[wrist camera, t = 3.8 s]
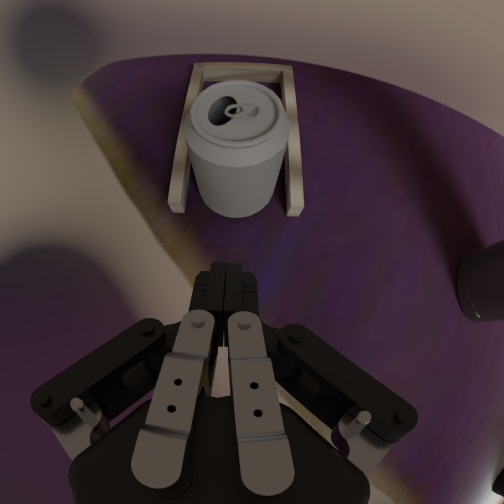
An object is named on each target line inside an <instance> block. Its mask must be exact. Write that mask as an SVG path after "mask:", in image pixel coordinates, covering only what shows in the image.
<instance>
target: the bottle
mask: <svg viewBox="0 0 504 504" xmlns="http://www.w3.org/2000/svg"><path fill="white" fill-rule="evenodd" d="M493 492H495V493H497V494H499V495H501V496H503V497H504V469H503V470H502V472H501V473H500V475H499V476H498V478H497V479H496V481H495V483H494V485H493Z"/></svg>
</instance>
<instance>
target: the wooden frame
mask: <svg viewBox="0 0 504 504" xmlns="http://www.w3.org/2000/svg"><path fill="white" fill-rule="evenodd" d="M230 80H245V81H252V82H266V83H279V84H281V97H282V105H283V107H284V110H285V111H286V113H287V116H288V118H289V121H290V136H289V139H288V143H287V146H286V150H285V181H286V216H297V217H298V216H299V215H300V213H301V211H302V210H303V208H304V199H303V181H302V166H301V152H300V139H299V128H298V117H297V107H296V97H295V88H294V79H293V71H292V66H288V65H277V64H264V63H244V62H205V63H195V64H194V68H193V72H192V76H191V80H190V84H189V88H188V92H187V97H186V101H185V105H184V110H183V115H182V120H181V125H180V130H179V135H178V140H177V146H176V151H175V157H174V163H173V169H172V175H171V182H170V189H169V196H168V205H169V206H170V208H171V210H172V212H173V213H185V207H186V198H187V189H188V181H189V173H190V165H191V160H190V156H189V152H188V148H187V145H186V141H185V136H184V122H185V119H186V116H187V113H188V112H189V110H190V109H191V106H192V103H193V101H194V100H195V98H196V97H197V96H198V95H199V94H200V92H202V90H203V85H204V81H230Z"/></svg>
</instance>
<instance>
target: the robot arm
mask: <svg viewBox="0 0 504 504" xmlns="http://www.w3.org/2000/svg"><path fill="white" fill-rule="evenodd" d="M457 293H458V299H459V302H460V305H461V308H462V310H463V312H464V313H465V315H466V316H467V317H468V318H469V319H470V320H471V321H474V322H486V321H501V320H504V240H502V241H500V242H497V243H494V244H492V245H489V246H486V247H484V248H481V249H478V250H475V251H473V252H470V253H468V254H467V255H466V256H465V257H464V258H463V260H462V262H461V264H460V267H459V270H458V275H457ZM223 338H224V346H225V347H228V367H229V382H230V396H225V397H219V398H215V397H211V393H212V386H213V380H214V373H215V368H216V361H217V354H218V347H220V346H221V347H222V346H223ZM275 381H276V382H277V383H278V384H279V385H281V386H282V387H283V388H284V389H285V390H286V391H287V392H288V393H289V394H291V395H292V396H293V397H294V398H295V399H296V400H297V401H298V402H300V403H301V404H302V405H303V406H304V407H305V408H306V409H308V410H309V411H310V412H311V413H312V414H313V415H315V416H316V417H317V418H318V419H319V420H321V421H322V422H323V423H324V424H325V425H327V426H328V427H329V428H330V429H331V430H332V432H331V441H332V443H333V444H334V446H335V447H336V448H337V449H338V450H337V449H336V448H335V447H333V446H332V445H331V444H330V443H329V442H328V441H327V440H326V439H324V438H323V437H322V436H321V435H320V434H319V433H318V432H317V431H316V430H314V429H313V428H312V427H311V426H310V425H309V424H308V423H307V422H306V421H305V420H304V419H303V418H302V417H301V416H300V415H298V414H297V413H296V412H295V411H294V410H293V409H291V408H290V407H288V406H286V405H284V404H282V403H280V402H279V400H278V394H277V389H276V384H275ZM153 388H155V391H154V394H153V397H152V399H149V400H147V401H146V402H144V403H142V404H141V405H140V406H138V407H137V408H136V409H135V410H134V411H132V412H131V413H130V414H129V415H127V416H126V417H125V418H124V419H123V420H121V421H120V422H119V423H118V424H116V425H115V426H114V427H113V428H111V429H110V421H111V420H113V419H114V418H115V417H117V416H118V415H119V414H121V413H122V412H123V411H125V410H126V409H127V408H129V407H130V406H131V405H133V404H134V403H135V402H137V401H138V400H139V399H141V398H142V397H143V396H144V395H146V394H147V393H148V392H150V391H151V390H152V389H153ZM30 402H31V407H32V409H33V411H34V412H35V413H36V414H37V415H38V416H39V417H40V418H42V419H43V421H44V422H45V423H46V424H47V425H48V426H49V427H50V428H51V429H52V430H53V432H54V433H55V435H56V437H57V438H58V440H59V442H60V443H61V445H62V446H63V448H64V449H65V451H66V452H67V454H68V455H69V457H70V458H71V459H72V463H71V465H70V468H69V474H68V475H69V476H68V477H69V484H70V488H71V491H72V494H73V497H74V500H75V504H368V502H369V498H370V485H369V481H368V479H367V476H368V475H369V474H370V472H371V471H372V470H373V469H374V468H375V467H376V465H377V464H378V463H379V462H380V461H381V459H382V458H383V457H384V456H385V454H386V453H387V452H388V450H389V449H390V448H391V447H392V446H393V445H394V444H395V443H397V442H398V441H399V440H400V439H402V438H403V437H404V436H405V435H406V434H408V433H409V432H410V431H411V430H412V429H413V428H414V427H415V426H416V424H417V421H418V415H417V412H416V410H415V408H414V407H413V406H412V405H411V404H409V403H408V402H407V401H405V400H404V399H402V398H401V397H399V396H398V395H397V394H395V393H394V392H392V391H391V390H390V389H388V388H387V387H385V386H384V385H383V384H381V383H380V382H379V381H377V380H376V379H374V378H373V377H372V376H370V375H369V374H368V373H366V372H365V371H363V370H362V369H361V368H359V367H358V366H357V365H355V364H354V363H353V362H351V361H350V360H349V359H347V358H346V357H344V356H343V355H342V354H340V353H339V352H338V351H336V350H335V349H334V348H332V347H331V346H330V345H328V344H327V343H326V342H324V341H323V340H322V339H320V338H319V337H318V336H317V335H315V334H314V333H313V332H311V331H310V330H309V329H307V328H306V327H304V326H302V325H299V324H289V325H286V326H284V327H283V328H282V329H281V330H280V329H277V328H273V327H270V326H268V325H266V324H265V323H263V322H262V320H261V319H260V317H259V309H258V294H257V279H256V278H255V276H254V275H253V273H249V272H242V262H227V273H226V262H212V264H211V270H210V271H201V272H200V273H199V274H198V275H197V276H196V278H195V283H194V287H193V292H192V297H191V302H190V306H189V311H188V313H186V314H185V315H184V317H183V318H182V321H180V322H178V323H175V324H170V325H165V326H163V324H162V323H161V322H160V321H159V320H157V319H154V318H146V319H142V320H140V321H138V322H137V323H135V324H134V325H132V326H131V327H129V328H128V329H126V330H125V331H123V332H122V333H120V334H119V335H117V336H115V337H114V338H112V339H111V340H109V341H108V342H106V343H105V344H103V345H102V346H100V347H99V348H97V349H96V350H94V351H93V352H91V353H90V354H88V355H87V356H85V357H83V358H82V359H80V360H79V361H78V362H76V363H74V364H73V365H71V366H70V367H68V368H67V369H65V370H64V371H62V372H61V373H60V374H58V375H56V376H55V377H53V378H52V379H50V380H49V381H47V382H46V383H44V384H43V385H41V386H40V387H38V388H37V389H36V390H35V391H34V392H33V394H32V396H31V400H30Z"/></svg>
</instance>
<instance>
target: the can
mask: <svg viewBox="0 0 504 504" xmlns="http://www.w3.org/2000/svg"><path fill="white" fill-rule="evenodd" d="M184 136H185V141H186V145H187V148H188V152H189V156H190V160H191V163H192V167H193V171H194V174H195V178H196V181H197V185H198V189H199V192H200V195H201V197H202V199H203V200H204V202H205V204H206V205H207V206H208V207H209V208H210V209H212V210H213V211H214V212H216V213H218V214H220V215H223V216H225V217H233V218H240V217H246V216H250V215H252V214H254V213H256V212H258V211H260V210H261V209H262V208H263V207H264V206H265V205H266V204H267V203H268V202H269V200H270V198H271V196H272V194H273V192H274V189H275V185H276V182H277V178H278V175H279V171H280V168H281V164H282V161H283V157H284V154H285V150H286V146H287V143H288V139H289V136H290V121H289V118H288V116H287V113H286V111H285V110H284V107H283V105H282V102H281V100H280V99H279V98H278V96H277V95H276V94H275V93H274V92H273V91H272V90H270V89H268V88H267V87H265V86H264V85H261V84H258V83H255V82H252V81H245V80H230V81H223V82H220V83H217V84H214V85H211V86H210V87H208V88H206V89H205V90H203V91H202V92H200V94H199V95H198V96H197V97H196V98H195V100H194V101H193V103H192V106H191V109H190V110H189V112H188V113H187V116H186V119H185V122H184Z"/></svg>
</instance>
